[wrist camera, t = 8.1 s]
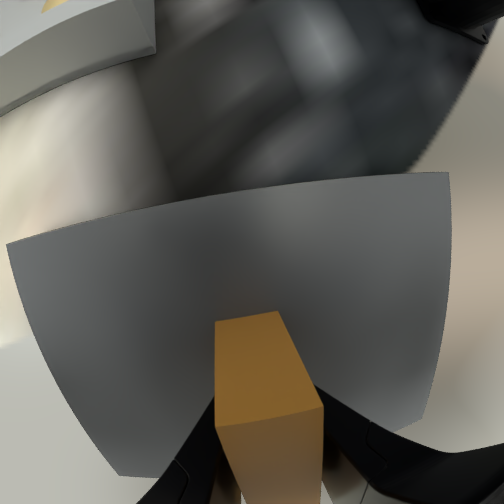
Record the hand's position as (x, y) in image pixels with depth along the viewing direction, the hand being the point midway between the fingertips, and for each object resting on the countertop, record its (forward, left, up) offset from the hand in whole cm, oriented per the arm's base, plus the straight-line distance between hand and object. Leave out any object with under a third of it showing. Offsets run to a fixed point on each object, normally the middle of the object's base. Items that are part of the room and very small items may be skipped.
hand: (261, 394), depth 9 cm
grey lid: (0, 0, -2) cm, 2 cm away
